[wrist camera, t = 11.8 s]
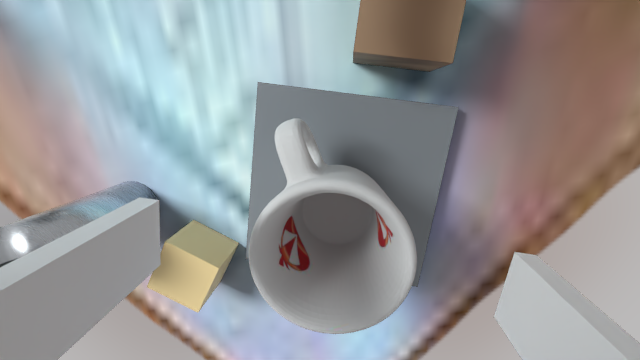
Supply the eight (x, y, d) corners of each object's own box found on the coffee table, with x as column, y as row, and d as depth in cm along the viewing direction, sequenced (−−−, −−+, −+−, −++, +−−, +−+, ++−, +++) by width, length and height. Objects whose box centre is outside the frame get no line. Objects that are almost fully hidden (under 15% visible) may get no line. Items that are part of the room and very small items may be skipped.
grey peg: (112, 225, 26) (-10, 289, 17) (110, 177, 25) (-22, 220, 16) (159, 232, 25) (59, 301, 17) (159, 185, 24) (52, 232, 16)
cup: (248, 137, 22) (191, 157, 14) (358, 93, 20) (362, 88, 13) (306, 271, 24) (285, 353, 16) (409, 239, 22) (440, 312, 15)
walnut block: (353, 62, 21) (353, 51, 16) (364, -22, 20) (369, -61, 15) (429, 71, 21) (452, 63, 16) (445, -14, 19) (477, -52, 15)
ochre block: (177, 259, 26) (146, 286, 22) (194, 219, 25) (165, 241, 21) (220, 281, 26) (198, 312, 22) (239, 242, 25) (219, 268, 21)
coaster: (249, 253, 25) (245, 259, 24) (262, 82, 22) (257, 82, 21) (414, 279, 24) (417, 286, 23) (453, 106, 21) (458, 107, 20)
